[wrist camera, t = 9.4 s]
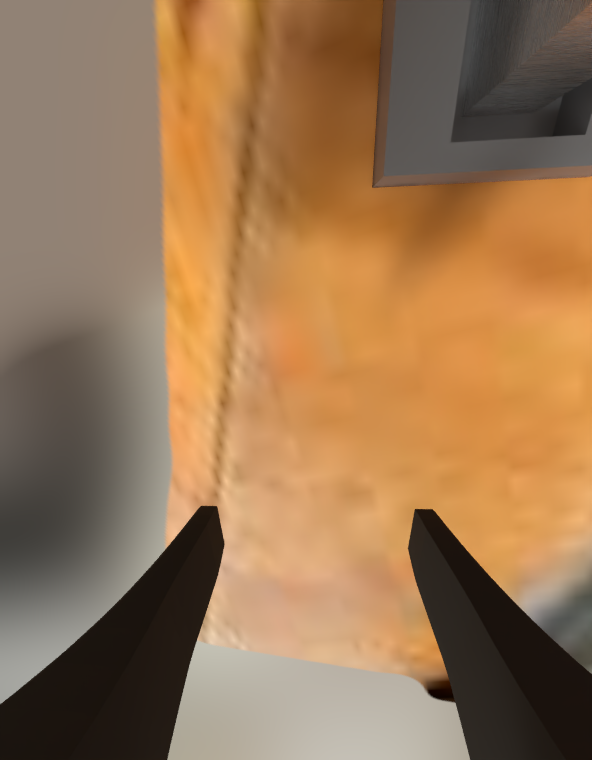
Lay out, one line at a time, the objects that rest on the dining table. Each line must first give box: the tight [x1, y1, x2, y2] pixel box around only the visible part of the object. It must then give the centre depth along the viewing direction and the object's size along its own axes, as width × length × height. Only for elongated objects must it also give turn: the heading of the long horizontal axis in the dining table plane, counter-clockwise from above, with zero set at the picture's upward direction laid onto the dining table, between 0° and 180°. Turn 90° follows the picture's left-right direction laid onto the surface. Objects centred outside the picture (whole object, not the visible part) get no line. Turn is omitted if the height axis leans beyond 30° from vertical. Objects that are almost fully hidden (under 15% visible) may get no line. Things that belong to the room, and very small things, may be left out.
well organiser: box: [372, 0, 592, 188], centre depth 11 cm, size 10×10×2 cm
